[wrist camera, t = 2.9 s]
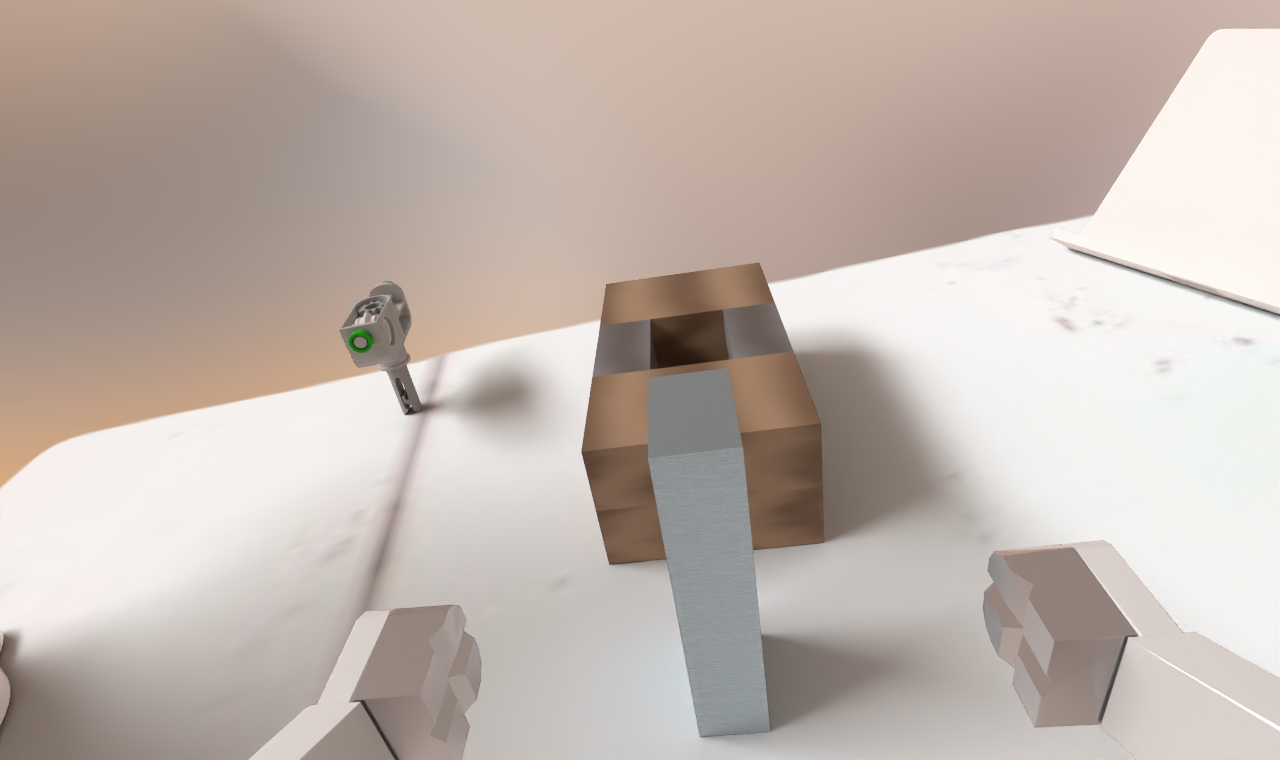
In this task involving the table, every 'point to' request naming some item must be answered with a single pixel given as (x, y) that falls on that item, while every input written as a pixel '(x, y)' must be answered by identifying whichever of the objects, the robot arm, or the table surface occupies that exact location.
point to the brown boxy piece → (762, 391)
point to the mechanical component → (383, 338)
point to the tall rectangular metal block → (709, 546)
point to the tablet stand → (1204, 179)
